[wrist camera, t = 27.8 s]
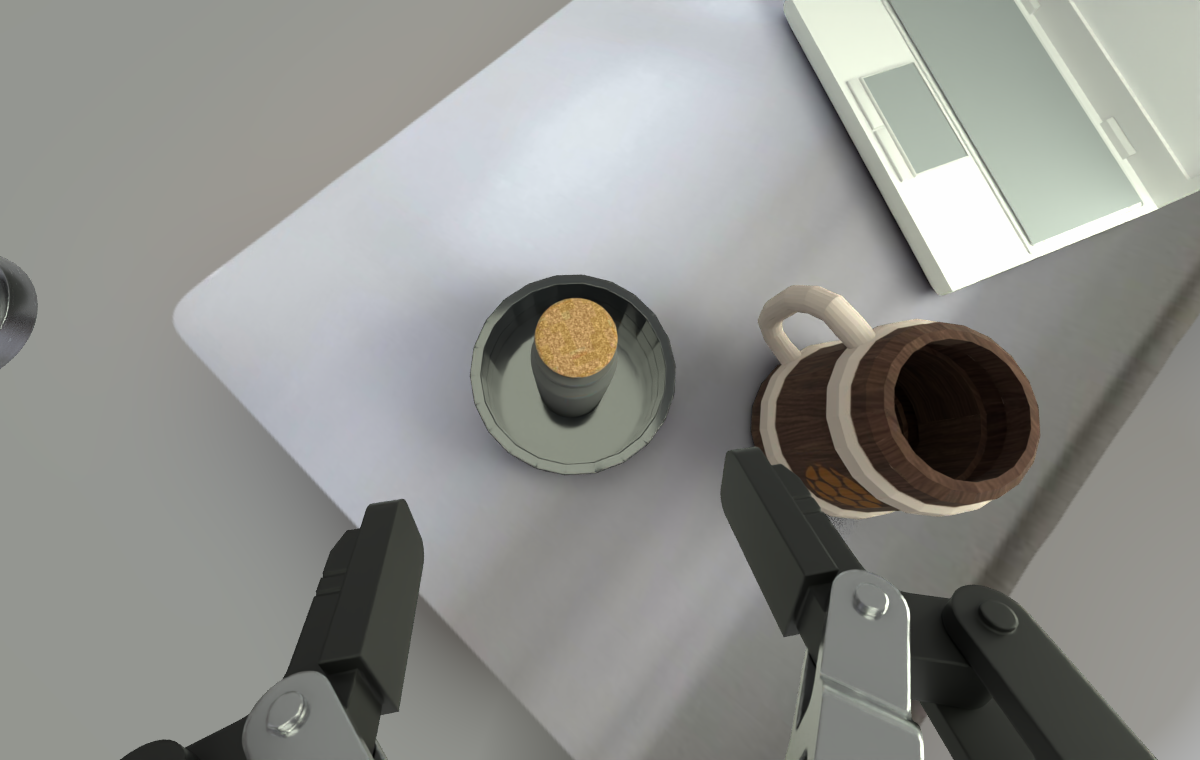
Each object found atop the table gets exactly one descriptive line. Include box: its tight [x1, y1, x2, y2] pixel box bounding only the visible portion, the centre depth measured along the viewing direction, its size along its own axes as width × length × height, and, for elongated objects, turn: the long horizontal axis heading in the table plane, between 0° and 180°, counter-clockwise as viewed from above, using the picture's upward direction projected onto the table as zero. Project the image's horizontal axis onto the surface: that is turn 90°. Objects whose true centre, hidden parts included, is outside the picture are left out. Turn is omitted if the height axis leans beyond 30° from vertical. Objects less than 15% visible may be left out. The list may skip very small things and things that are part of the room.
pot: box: [470, 275, 676, 475], centre depth 39 cm, size 16×16×6 cm
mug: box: [751, 285, 1040, 520], centre depth 36 cm, size 20×15×15 cm
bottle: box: [530, 298, 618, 417], centre depth 34 cm, size 6×6×15 cm
